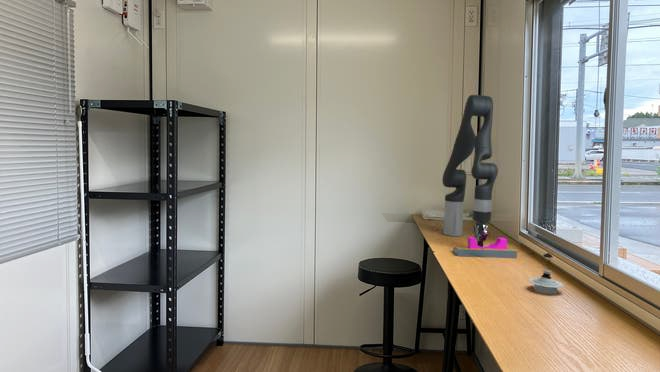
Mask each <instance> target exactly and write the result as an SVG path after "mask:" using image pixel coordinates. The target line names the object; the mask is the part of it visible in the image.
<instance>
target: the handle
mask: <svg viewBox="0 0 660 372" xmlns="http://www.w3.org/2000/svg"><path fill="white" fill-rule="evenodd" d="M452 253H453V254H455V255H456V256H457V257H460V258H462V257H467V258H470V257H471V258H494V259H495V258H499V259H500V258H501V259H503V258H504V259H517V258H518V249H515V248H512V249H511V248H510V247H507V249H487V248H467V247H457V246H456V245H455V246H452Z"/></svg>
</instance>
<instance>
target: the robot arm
mask: <svg viewBox="0 0 660 372" xmlns="http://www.w3.org/2000/svg"><path fill="white" fill-rule="evenodd" d="M493 115H494V101H493V98H492V97H491V96H489V95H480V94H470V95H469V96H468V97H467V99H466V102H465V107H464V109H463V114H462V119H461V123H460V125H459V129H458V133H457V134H456V138H455V141H454V143H453V148H452V151H451V155H450V157H449V160H448V162H447V164H446V167H445V169H444V172H443V174H442V185H443V186H444V187H445V188H455V190H453V191H452V192H450V193H447V194H445V196H444V209H443V210H444V213H443V229H442V231H443V233H442V234H443V235H445V236H451V237H460V236H462V235H463V223H464V204H465V203H464V202H465V196H466V187H467V186H466V185H467V173H466V170H464V169H461V168H460V169H459V168H458V167H459V166H460V165H461V164H462V163H463V162H464V161H466V160H467V159H468V158H469V157H470V156H471V155H472V153H473V152H474V160H473V163H472V168H471V176H472V177H473V179H475V180H486V182H485V183H483V184H477V185H476V186H475V187H474V194H473V195H474V196H473V197H474V198H473V204H472V205H473V206H472V220H473V222H475V225H473V231H474V236H475V237H474V238H475V239H476V243H477V245H478V246H481V247H484V242H486V241H487V238H488V235H489V233H490V232H489V230H488V225H487V223H488V222H491V221H492V207H493V204H492V198H493V197H492V196H493V194H492V193H493V188H494V184H495V181H496V179H497V176H498V174H499V173H498V171H499V169H498V166H497V164H496V163H494V162H483V161H486V160H490V159H491V158H492V157H493V156H492V155H493V149H492V148H493V147H492V127H493V126H492V125H493V117H494V116H493ZM473 117H483V124H482V126H481V127H480V128H479V130H478V132H477V133H476V134H475V131H474V128H473V126H472V125H473V124H472V118H473ZM481 161H482V162H481Z"/></svg>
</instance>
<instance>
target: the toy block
mask: <svg viewBox="0 0 660 372" xmlns="http://www.w3.org/2000/svg"><path fill="white" fill-rule="evenodd" d="M507 246H508V239H506V238H505V237H497V238H496V240H495V242H494V243H493V242H492V243H490V244H488V245H486V246H483V247H481V246H478V245H477V238H475V237H474V236H467V245H466V248H487V249H507V248H508V247H507Z"/></svg>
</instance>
